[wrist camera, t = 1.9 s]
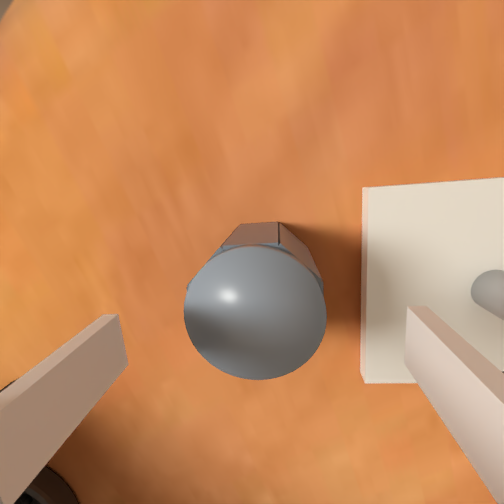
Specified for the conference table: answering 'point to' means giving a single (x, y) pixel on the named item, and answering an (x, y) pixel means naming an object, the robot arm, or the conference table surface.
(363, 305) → the stud board
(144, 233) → the conference table surface
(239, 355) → the cap
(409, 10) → the conference table surface
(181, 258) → the conference table surface
